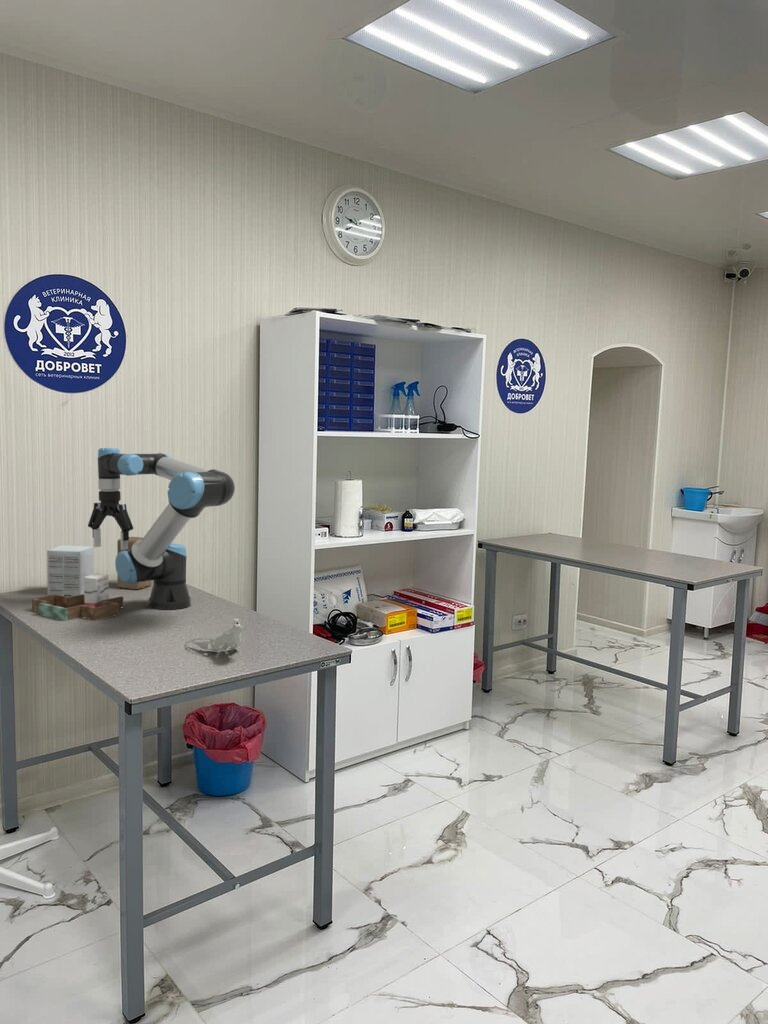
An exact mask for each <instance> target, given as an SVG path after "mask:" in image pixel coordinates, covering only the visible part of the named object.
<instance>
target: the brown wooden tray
mask: <svg viewBox="0 0 768 1024" xmlns="http://www.w3.org/2000/svg"><path fill="white" fill-rule="evenodd" d="M84 604H85V603H84V594H82V595H77V596H62V595H57V594H56V595H47V596H41V597H36V598H32V599H31V611H33V610H36V611H35V612H38V611H39V612H38V615H39V614H41V615H40V616H43V615H45V616H44V617H47V616H48V618H51V617H53V618H52V619H56V618H57V620H60V619H61V621H64V620H67V621H70V619H71V620H75V619H79V618H78V617H80V618H83V617H86V618H85V619H88V618H90V619H89V620H92V619H94V620H93V621H97V620H96V619H99V620H102V619H101V618H103V619H106V618H105V617H107V618H110V617H109V616H111V617H114V615H115V616H119V615H120V609H122V608H121V607H123V608H124V596H118V597H112V598H108V599H107V600H102V601H101V607H97V608H95V607H90V606H86V605H84ZM118 614H119V615H118ZM74 618H75V619H74Z"/></svg>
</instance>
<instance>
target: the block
mask: <svg viewBox="0 0 768 1024" xmlns="http://www.w3.org/2000/svg"><path fill="white" fill-rule="evenodd" d="M143 538H144V537H139V536H129V540H128V549H125V550H121V538H119V539H117V554H118V553H119V552H122V551H128V550H129V549H130V548H131V546H132V545H133V544H134V543H135V542H136V541H138V540H142V539H143ZM149 585H151V586H152V580H151V581H145V582H139V583H135V584H133V583H131V584H126V583H124V582H123V581H121V579H120V578H119V576H118V575H117V587H118V588H119V587H123V588H122V589H124V588H133V589H139V590H141V589H140V588H142V589H144V588H143V587H145V588H147V587H146V586H148V587H150V586H149ZM133 589H132V590H133Z"/></svg>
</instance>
